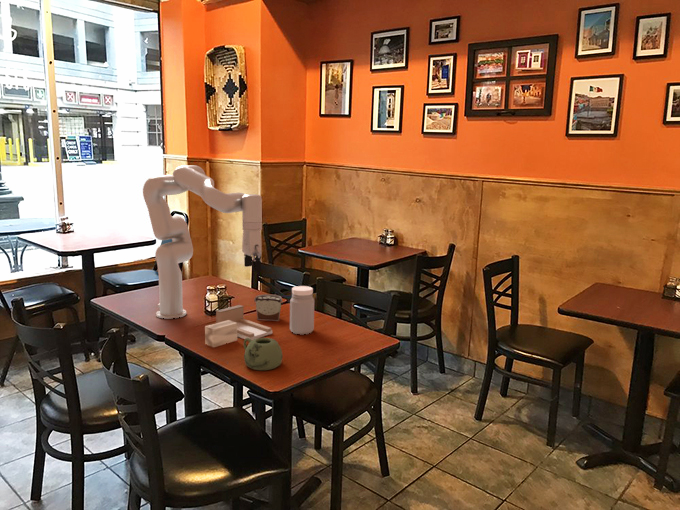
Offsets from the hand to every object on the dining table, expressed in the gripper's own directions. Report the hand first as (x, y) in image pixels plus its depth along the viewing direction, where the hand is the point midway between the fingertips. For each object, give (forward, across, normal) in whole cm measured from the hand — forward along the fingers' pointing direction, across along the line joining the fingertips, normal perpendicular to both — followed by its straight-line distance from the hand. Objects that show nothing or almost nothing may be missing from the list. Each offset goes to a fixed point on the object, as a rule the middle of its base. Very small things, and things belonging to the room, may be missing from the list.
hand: (252, 268), depth 214 cm
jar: (+25, +11, +17) cm, 32 cm away
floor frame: (+25, +2, -4) cm, 25 cm away
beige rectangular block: (+25, +10, -16) cm, 31 cm away
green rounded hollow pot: (+25, +36, -10) cm, 45 cm away
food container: (+25, -10, +11) cm, 30 cm away
